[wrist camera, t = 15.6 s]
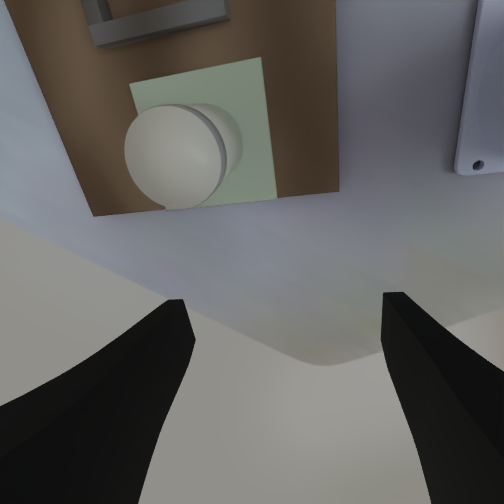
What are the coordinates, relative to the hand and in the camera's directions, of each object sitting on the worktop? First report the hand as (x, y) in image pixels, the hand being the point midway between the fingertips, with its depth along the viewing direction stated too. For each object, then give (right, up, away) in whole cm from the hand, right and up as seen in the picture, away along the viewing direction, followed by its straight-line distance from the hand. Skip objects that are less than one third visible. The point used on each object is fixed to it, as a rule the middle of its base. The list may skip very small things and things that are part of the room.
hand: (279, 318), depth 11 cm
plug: (-3, +8, +6) cm, 11 cm away
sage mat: (-3, +8, +6) cm, 11 cm away
